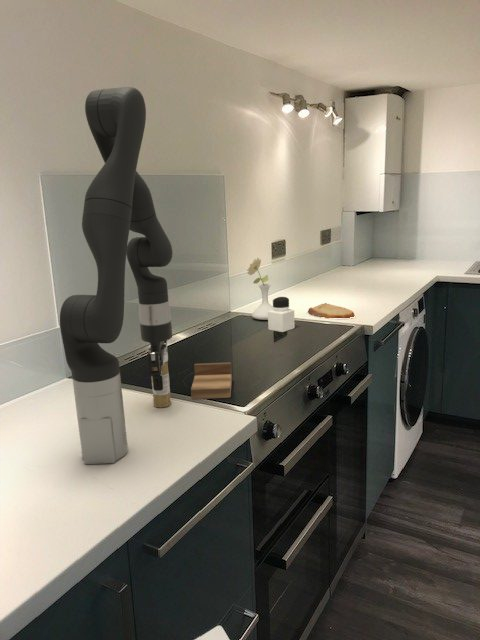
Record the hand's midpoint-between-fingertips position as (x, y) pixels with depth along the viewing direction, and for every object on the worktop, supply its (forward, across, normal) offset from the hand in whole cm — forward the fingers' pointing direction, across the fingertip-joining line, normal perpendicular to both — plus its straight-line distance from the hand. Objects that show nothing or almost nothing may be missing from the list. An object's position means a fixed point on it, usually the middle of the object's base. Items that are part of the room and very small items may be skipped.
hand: (161, 384), depth 135 cm
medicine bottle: (+6, +69, -34) cm, 77 cm away
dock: (+5, +9, -12) cm, 16 cm away
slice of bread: (+6, +89, -55) cm, 105 cm away
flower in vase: (+6, +86, -28) cm, 91 cm away
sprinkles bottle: (+6, 0, 0) cm, 6 cm away
